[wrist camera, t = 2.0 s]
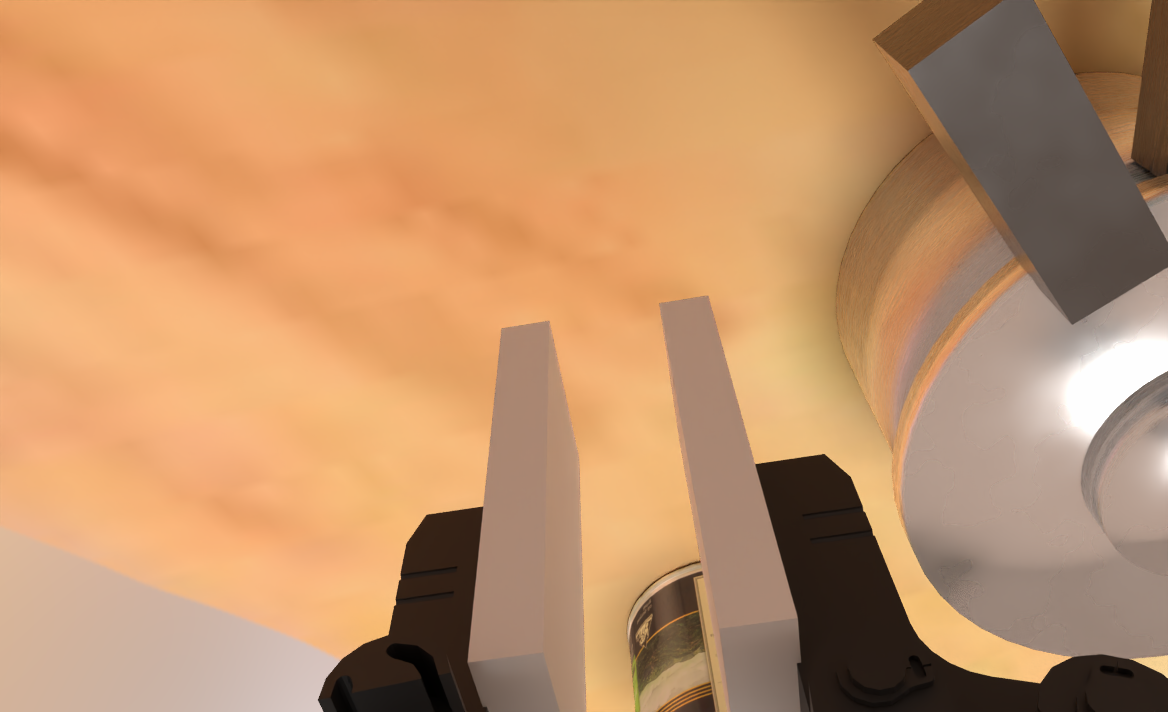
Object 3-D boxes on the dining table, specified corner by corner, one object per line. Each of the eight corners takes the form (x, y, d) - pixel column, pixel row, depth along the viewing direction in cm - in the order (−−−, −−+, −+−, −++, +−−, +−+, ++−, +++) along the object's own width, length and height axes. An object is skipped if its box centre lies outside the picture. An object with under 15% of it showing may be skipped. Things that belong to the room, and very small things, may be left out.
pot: (1211, 445, 47) (1371, 614, 38) (843, 498, 49) (910, 674, 39) (1350, -203, 33) (1666, -189, 23) (820, -105, 34) (919, -54, 25)
